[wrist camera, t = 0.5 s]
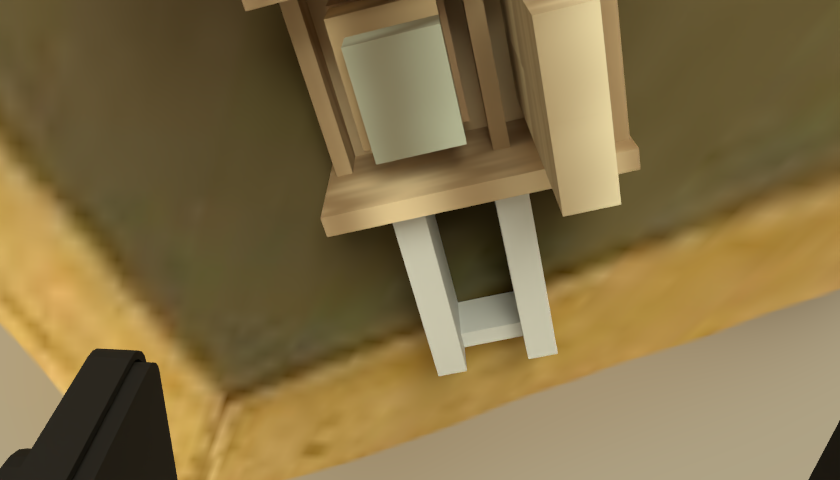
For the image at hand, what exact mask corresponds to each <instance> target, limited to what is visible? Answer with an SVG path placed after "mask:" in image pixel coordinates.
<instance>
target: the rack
mask: <svg viewBox="0 0 840 480" xmlns="http://www.w3.org/2000/svg"><path fill="white" fill-rule="evenodd" d="M327 2H328V0H242V3H243V5H244V8H245V11H249V10H253V9H257V8H261V7H264V6H268V5H272V4H276V3H279V5H280V8H281V11H282V14H283V17H284V20H285V23H286V26H287V29H288V32H289V35H290V38H291V41H292V44H293V47H294V50H295V53H296V56H297V59H298V62H299V65H300V68H301V71H302V74H303V77H304V79H305V82H306V85H307V88H308V91H309V94H310V97H311V100H312V103H313V106H314V109H315V112H316V115H317V118H318V121H319V124H320V127H321V130H322V133H323V136H324V139H325V142H326V145H327V148H328V151H329V154H330V157H331V160H332V163H333V164H332V169H331V173H330V178H329V182H328V187H327V191H326V196H325V200H324V205H323V209H322V214H321V221H322V224H323V227H324V229H325V232H326V235H327V237H331V236H335V235H340V234H344V233H349V232H354V231H358V230H363V229H367V228H372V227H377V226H381V225H386V224H390V223H395V222H400V221H404V220H409V219H414V218H418V217H423V216H427V215H432V214H437V213H441V212H446V211H450V210H455V209H460V208H464V207H469V206H473V205H478V204H483V203H487V202H492V201H496V200H501V199H506V198H510V197H515V196H519V195H524V194H529V193H533V192H538V191H543V190H547V189H552V187H551V184H550V182H549V179H548V177H547V174H546V171H545V169H544V166H543V164H542V161H541V159H540V156H539V153H538V151H537V148H536V146H535V143H534V141H533V138H532V135H531V133H530V130H529V128H528V125H527V123H526V120H525V117H524V115H523V112H522V110H521V107H520V105H519V102H518V99H517V95H516V90H515V84H514V78H513V72H512V67H511V61H510V55H509V50H508V44H507V38H506V33H505V27H504V21H503V16H502V10H501V4H500V0H444V4H445V9H446V13H447V18H448V22H449V27H450V32H451V36H452V41H453V46H454V50H455V55H456V59H457V64H458V69H459V73H460V78H461V83H462V87H463V92H464V96H465V101H466V106H467V111H468V116H469V121H466V122H463V126H464V131H465V136H466V142H467V144H465V145H461V146H457V147H452V148H448V149H443V150H439V151H435V152H430V153H426V154H421V155H417V156H413V157H408V158H404V159H399V160H395V161H391V162H386V163H382V164H377V165H376V163H375V159H374V156H373V153H372V150H369V151H365V152H364V150H363V147H362V143H361V140H360V137H359V134H358V130H357V127H356V124H355V120H354V117H353V114H352V111H351V107H350V104H349V101H348V98H347V94H346V91H345V88H344V85H343V81H342V78H341V75H340V72H339V68H338V65H337V62H336V59H335V55H334V52H333V49H332V46H331V42H330V39H329V36H328V33H327V29H326V26H325V23H324V18H325V15H326V13H327V10H326V4H327ZM600 5H601V15H602V24H603V34H604V44H605V53H606V63H607V73H608V82H609V92H610V102H611V111H612V121H613V131H614V140H615V150H616V160H617V169H618V174H621V173H625V172H630V171H635V170H639V169H640V157H639V148H638V146H637V145H636V144H635V142H634V141H633V139H632V138H631V136H630V135H629V124H628V113H627V102H626V91H625V80H624V69H623V58H622V47H621V36H620V25H619V14H618V3H617V0H600Z"/></svg>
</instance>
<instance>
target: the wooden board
mask: <svg viewBox="0 0 840 480" xmlns="http://www.w3.org/2000/svg"><path fill="white" fill-rule="evenodd" d="M500 4H501V10H502V16H503V21H504V27H505V33H506V38H507V44H508V50H509V55H510V61H511V67H512V72H513V78H514V84H515V90H516V95H517V99H518V102H519V105H520V107H521V110H522V112H523V115H524V117H525V120H526V123H527V125H528V128H529V130H530V133H531V135H532V138H533V141H534V143H535V146H536V148H537V151H538V153H539V156H540V159H541V161H542V164H543V166H544V169H545V171H546V174H547V177H548V179H549V182H550V184H551V187H552V190H553V192H554V195H555V197H556V200H557V202H558V205H559V208H560V210H561V213H562V215H563V217H564V216H569V215H573V214H578V213H583V212H587V211H592V210H597V209H602V208H606V207H611V206H616V205H620V204H621V198H620V189H619V179H618V169H617V160H616V150H615V140H614V131H613V121H612V111H611V102H610V92H609V82H608V73H607V63H606V53H605V44H604V34H603V24H602V15H601V5H600V0H500Z"/></svg>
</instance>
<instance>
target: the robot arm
mask: <svg viewBox="0 0 840 480" xmlns="http://www.w3.org/2000/svg"><path fill="white" fill-rule="evenodd" d="M0 480H177V474H176V468H175V462H174V456H173V450H172V444H171V438H170V432H169V426H168V420H167V414H166V408H165V402H164V396H163V390H162V384H161V378H160V372H159V368H158V365H157V364H156V363H150V362H146V359H145V355H144V354H143V353H142V351H134V350H115V349H95V350H93V351H92V352H91V354H90V355H89V356H88V357H87V359H86V361H85V362H84V364H83V366H82V367H81V369H80V371H79V372H78V374H77V375H76V377H75V379H74V380H73V382H72V384H71V385H70V387H69V388H68V390H67V392H66V393H65V395H64V397H63V398H62V400H61V402H60V403H59V405H58V406H57V408H56V410H55V411H54V413H53V415H52V416H51V418H50V419H49V421H48V423H47V424H46V426H45V428H44V430H43V431H42V433H41V434H40V436H39V437H38V439H37V441H36V442H35V444H34V446H33V447H32V449H19V450H18V451H16V452H15V453H14V454H12V455H11V456H10V457H9V458H8V459H7V460H6V462H5V463H4V464H3V466H2V467H1V468H0ZM809 480H840V421H839V423H838V425H837V427H836V429H835V431H834V432H833V434H832V436H831V438H830V440H829V442H828V444H827V446H826V448H825V450H824V451H823V453H822V455H821V457H820V459H819V461H818V463H817V465H816V467H815V468H814V470H813V472H812V474H811V476H810V478H809Z"/></svg>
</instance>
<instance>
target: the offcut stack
mask: <svg viewBox="0 0 840 480" xmlns="http://www.w3.org/2000/svg"><path fill="white" fill-rule="evenodd" d="M326 10H327V13H326V15H325V18H324V23H325V26H326V29H327V33H328V36H329V39H330V42H331V46H332V49H333V52H334V55H335V59H336V62H337V65H338V68H339V72H340V75H341V78H342V81H343V85H344V88H345V91H346V94H347V98H348V101H349V104H350V107H351V111H352V114H353V117H354V120H355V124H356V127H357V130H358V134H359V137H360V140H361V143H362V147H363V150H364V152H365V151H369V150H372V153H373V156H374V159H375V163H376V165H377V164H382V163H386V162H391V161H395V160H399V159H404V158H408V157H413V156H417V155H421V154H426V153H430V152H435V151H439V150H443V149H448V148H452V147H457V146H461V145H465V144H467V142H466V136H465V131H464V126H463V122H466V121H469V116H468V111H467V106H466V101H465V96H464V92H463V87H462V83H461V78H460V73H459V69H458V64H457V59H456V55H455V50H454V46H453V41H452V36H451V32H450V27H449V22H448V18H447V13H446V9H445V4H444V0H328V2H327V4H326Z"/></svg>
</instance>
